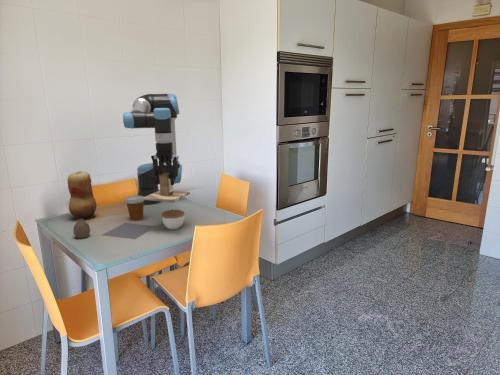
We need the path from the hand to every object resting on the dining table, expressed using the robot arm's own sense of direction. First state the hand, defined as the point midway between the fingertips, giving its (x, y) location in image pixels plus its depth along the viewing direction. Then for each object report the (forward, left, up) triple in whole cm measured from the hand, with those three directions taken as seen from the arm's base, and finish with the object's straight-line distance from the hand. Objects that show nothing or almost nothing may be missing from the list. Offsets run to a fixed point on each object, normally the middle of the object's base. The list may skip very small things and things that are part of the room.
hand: (166, 191), depth 171 cm
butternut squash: (-2, -52, -19) cm, 56 cm away
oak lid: (0, 0, -3) cm, 3 cm away
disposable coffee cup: (-7, -23, -19) cm, 31 cm away
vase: (+22, -32, -19) cm, 43 cm away
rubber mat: (+9, -16, -19) cm, 26 cm away
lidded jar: (-1, +2, -19) cm, 19 cm away
